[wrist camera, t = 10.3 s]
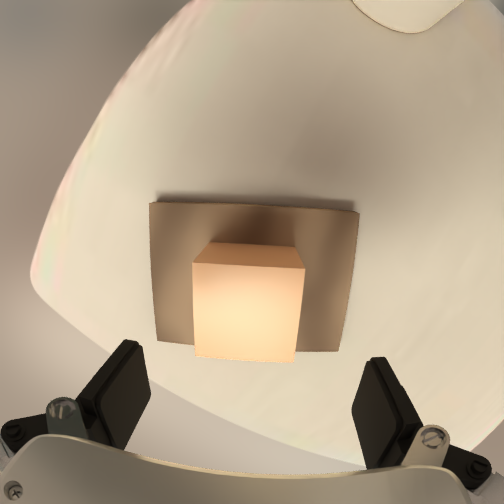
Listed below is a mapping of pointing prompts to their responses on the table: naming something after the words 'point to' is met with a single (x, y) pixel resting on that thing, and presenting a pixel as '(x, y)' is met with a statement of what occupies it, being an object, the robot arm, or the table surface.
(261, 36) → the table surface
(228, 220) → the base plate
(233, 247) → the light orange cube
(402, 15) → the wine bottle
